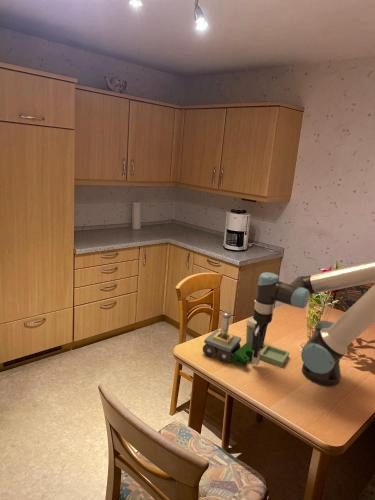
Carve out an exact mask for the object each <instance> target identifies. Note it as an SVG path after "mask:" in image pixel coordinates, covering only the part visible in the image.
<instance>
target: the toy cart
mask: <svg viewBox="0 0 375 500" xmlns="http://www.w3.org/2000/svg"><path fill="white" fill-rule="evenodd" d="M220 331H221V329H215V330H214V331H213V332H212V333H210V334H209V335H208V336H207V337H206V338H204V341H203V343H204V345H203V346H202V352H203V354H204V355H205V356H206V357H208V358H213V357H215V356H216V355H217V358H218V360H219V361H220V362H222V363H223V364H228V363H229V362H231V359H232V357H233V355H234V353H235V352H236V351H237V350H238V349H240V348H241V347H242V345H241V344H240V343H241V341H242V337H240V336H237V335H234V334H231V333H229V332H228V335H227V340H225V339H222V338H220Z"/></svg>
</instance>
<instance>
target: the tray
mask: <svg viewBox="0 0 375 500" xmlns="http://www.w3.org/2000/svg"><path fill="white" fill-rule="evenodd" d="M263 347H264V348H263V349H261V354H260V360H259V361H263V362H265V363H268V364H270V365H274V366H276V367H279V368H283V367H284V365H285V363H286V362H287V360H288V359H289V356H290V351H287V350H284V349H281V348H278V347H276V346H272V345H269V344H266V345H265V346H263Z"/></svg>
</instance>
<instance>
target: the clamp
mask: <svg viewBox="0 0 375 500" xmlns="http://www.w3.org/2000/svg"><path fill="white" fill-rule="evenodd" d="M251 348H252V346H250V345H249V344H247V343H246V342H245V343H244V344H243V345H241V348H240V349H238V350H237V351H236V352H235V353H234V354H233V357H232V359H231V360H230V363H231V364H233V365H236V364H237V363H239V364H240V365H242V366H243V367H244V368H246V367H247V365H248V363H249V362H250V363H251V362H252V356H253V350H252V349H251Z"/></svg>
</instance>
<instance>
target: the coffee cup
mask: <svg viewBox="0 0 375 500" xmlns="http://www.w3.org/2000/svg"><path fill="white" fill-rule="evenodd" d="M255 324H257V322H256V321H255V320H254V319H253V316H250V317H248V319H247V320H246V333H245V334H246V335H245V336H246V337H245V338H246V339H245V344H246V343H247V344H249V345H250V346H252V342H253V331H255Z"/></svg>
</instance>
